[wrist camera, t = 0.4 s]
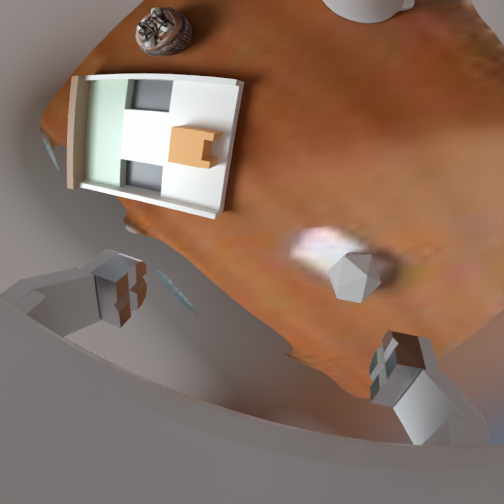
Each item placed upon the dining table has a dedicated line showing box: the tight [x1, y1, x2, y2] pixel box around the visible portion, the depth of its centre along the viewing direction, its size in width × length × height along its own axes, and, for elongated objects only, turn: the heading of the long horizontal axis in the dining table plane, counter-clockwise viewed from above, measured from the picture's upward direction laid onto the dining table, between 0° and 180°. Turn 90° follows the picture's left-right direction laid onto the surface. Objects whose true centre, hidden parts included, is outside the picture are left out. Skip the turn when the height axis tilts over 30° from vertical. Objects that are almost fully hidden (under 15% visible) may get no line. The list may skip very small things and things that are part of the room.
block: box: [168, 125, 223, 169], centre depth 48 cm, size 6×8×4 cm
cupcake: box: [135, 7, 193, 57], centre depth 40 cm, size 10×10×10 cm
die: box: [327, 253, 382, 303], centre depth 52 cm, size 8×9×10 cm
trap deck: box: [67, 74, 244, 219], centre depth 51 cm, size 24×34×6 cm
